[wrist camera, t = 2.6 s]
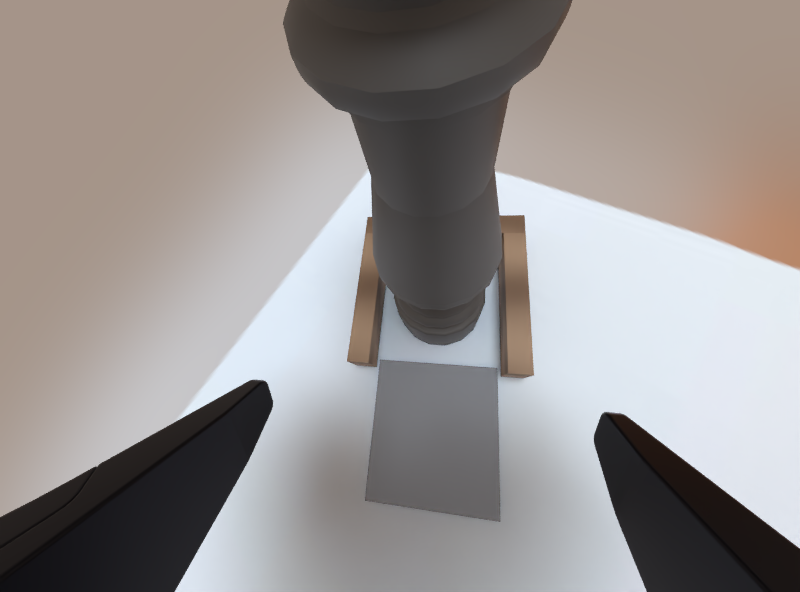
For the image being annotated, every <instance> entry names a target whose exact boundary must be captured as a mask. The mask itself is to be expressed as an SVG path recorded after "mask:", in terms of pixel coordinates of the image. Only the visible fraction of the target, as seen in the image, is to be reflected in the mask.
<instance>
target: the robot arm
mask: <svg viewBox="0 0 800 592" xmlns="http://www.w3.org/2000/svg"><path fill="white" fill-rule="evenodd" d="M272 407H273V400H272V396H271V393H270V390H269V387H268V384H267V382H266V381H263V380H250V381H248V382H246V383H245V384H243V385H241V386H239V387H237V388H236V389H234V390H232V391H230V392H228V393H227V394H225V395H223V396H221V397H219V398H218V399H216V400H214V401H212V402H210V403H209V404H207V405H205V406H203V407H201V408H200V409H198V410H196V411H194V412H192V413H191V414H189V415H187V416H185V417H183V418H182V419H180V420H178V421H176V422H174V423H173V424H171V425H169V426H167V427H166V428H164V429H162V430H160V431H158V432H157V433H155V434H153V435H151V436H149V437H148V438H146V439H144V440H142V441H140V442H138V443H137V444H135V445H133V446H131V447H130V448H128V449H126V450H124V451H122V452H121V453H119V454H117V455H115V456H113V457H111V458H110V459H108V460H106V461H104V462H102V463H101V464H99V465H98V467H93V468H92V469H90V470H88V471H86V472H84V473H83V474H81V475H79V476H77V477H76V478H74V479H72V480H70V481H68V482H66V483H65V484H63V485H61V486H59V487H57V488H55V489H54V490H52V491H50V492H48V493H46V494H44V495H42V496H40V497H39V498H37V499H35V500H33V501H31V502H29V503H27V504H25V505H23V506H21V507H20V508H17V509H15V510H13V511H11V512H9V513H7V514H5V515H4V516H2V517H0V592H175V590H176V588H177V587H178V585H179V583H180V581H181V579H182V578H183V576H184V574H185V572H186V571H187V569H188V567H189V565H190V564H191V562H192V560H193V558H194V556H195V555H196V553H197V551H198V549H199V548H200V546H201V544H202V542H203V541H204V539H205V537H206V535H207V533H208V532H209V530H210V528H211V526H212V525H213V523H214V521H215V519H216V518H217V516H218V514H219V512H220V510H221V509H222V507H223V505H224V503H225V502H226V500H227V498H228V496H229V495H230V493H231V491H232V489H233V487H234V486H235V484H236V482H237V480H238V479H239V477H240V475H241V473H242V472H243V470H244V468H245V466H246V464H247V462H248V460H249V458H250V456H251V454H252V452H253V450H254V448H255V446H256V443H257V441H258V439H259V437H260V435H261V432H262V430H263V428H264V426H265V424H266V421H267V419H268V417H269V415H270V412H271V410H272ZM594 444H595V448H596V451H597V454H598V458H599V461H600V464H601V468H602V471H603V475H604V478H605V481H606V485H607V488H608V491H609V495H610V498H611V501H612V505H613V508H614V511H615V514H616V516H617V519H618V522H619V524H620V527H621V529H622V532H623V534H624V537H625V539H626V542H627V544H628V546H629V549H630V551H631V554H632V556H633V559H634V561H635V564H636V566H637V569H638V571H639V574H640V576H641V578H642V581H643V583H644V586H645V588H646V591H647V592H800V548H798V547H797V546H796V545H794V544H793V543H792V542H790V541H789V540H788V539H787V538H785V537H784V536H783V535H781V534H780V533H779V532H777V531H776V530H775V529H773V528H772V527H771V526H770V525H768V524H767V523H766V522H764V521H763V520H762V519H760V518H759V517H758V516H756V515H755V514H754V513H753V512H751V511H750V510H749V509H747V508H746V507H745V506H743V505H742V504H741V503H739V502H738V501H737V500H736V499H734V498H733V497H732V496H730V495H729V494H728V493H726V492H725V491H724V490H722V489H721V488H720V487H719V486H717V485H716V484H715V483H713V482H712V481H711V480H709V479H708V478H707V477H705V476H704V475H703V474H702V473H700V472H699V471H698V470H696V469H695V468H694V467H692V466H691V465H690V464H689V463H687V462H686V461H685V460H683V459H682V458H681V457H679V456H678V455H677V454H675V453H674V452H673V451H672V450H670V449H669V448H668V447H666V446H665V445H664V444H662V443H661V442H660V441H658V440H657V439H656V438H655V437H653V436H652V435H651V434H649V433H648V432H647V431H645V430H644V429H643V428H641V427H640V426H639V425H638V424H636V423H635V422H634V421H632V420H631V419H630V418H628V417H627V416H626V415H624V414H621V413H611V412H604V413H603V414H602V415H601V417H600V420H599V423H598V426H597V428H596V431H595V434H594Z"/></svg>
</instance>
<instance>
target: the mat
mask: <svg viewBox="0 0 800 592" xmlns="http://www.w3.org/2000/svg"><path fill="white" fill-rule="evenodd" d="M365 501H372V502H378V503H384V504H391V505H397V506H403V507H410V508H416V509H423V510H429V511H435V512H442V513H448V514H454V515H461V516H467V517H474V518H480V519H486V520H493V521H499V522H500V483H499V433H498V382H497V368H487V367H473V366H459V365H445V364H431V363H418V362H404V361H390V360H380V367H379V376H378V386H377V395H376V404H375V413H374V423H373V432H372V441H371V450H370V460H369V469H368V478H367V487H366V497H365Z"/></svg>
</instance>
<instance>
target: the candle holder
mask: <svg viewBox="0 0 800 592" xmlns="http://www.w3.org/2000/svg"><path fill="white" fill-rule="evenodd" d="M571 3H572V0H290V1H289V4H288V7H287V10H286V13H285V17H284V21H283V25H284V29H285V33H286V37H287V41H288V46H289V50H290V53H291V56H292V59H293V61H294V63H295V65H296V67H297V69H298V71H299V73H300V75H301V76H302V78H303V79H304V80H305V82H306V83H307V84H308V85H309V86H311V87H312V88H313V89H314V90H315V91H316V92H317V93H318V94H320V95H321V96H322V97H323V98H324V99H325V100H326V101H328V102H329V103H330V104H331V105H332V106H333V107H335V108H336V109H339V110H342V111H346V112H349V113H350V114H351V117H352V120H353V123H354V126H355V129H356V132H357V135H358V138H359V141H360V144H361V147H362V150H363V153H364V156H365V159H366V162H367V165H368V168H369V171H370V174H371V188H372V227H373V256H374V260H375V263H376V267H377V270H378V273H379V276H380V278H381V280H382V281H383V282H384V283H385V285H386V286H387V287H388V288H389V289H390V290H391V291H392V293H393V294H394V299H395V303H396V306H397V309H398V312H399V315H400V317H401V319H402V320H403V322H404V324H405V326H406V327H407V328H408V329H409V330H410V332H411V333H412V334H413V335H414V336H415V337H416V338H418V339H420V340H422V341H424V342H426V343H428V344H436V345H448V344H451V343H454V342H457V341H460V340H462V339H463V338H464V337H465V336H466V335H468V334H469V333H470V332H471V331H472V330H473V329H474V327H475V324H476V322H477V320H478V318H479V316H480V314H481V311H482V308H483V306H484V303H485V288H486V287H487V286H489V285H490V282H491V280H492V278H493V276H494V274H495V272H496V270H497V268H498V266H499V264H500V261H501V259H502V233H501V224H500V216H499V207H498V198H497V188H496V179H495V169H494V166H495V161H496V156H497V151H498V147H499V142H500V137H501V132H502V127H503V123H504V117H505V113H506V108H507V103H508V98H509V94H510V90H511V88H512V87H513V85H514V84H516V83H517V82H518V81H519V80H521V79H522V78H524V77H525V76H526V75H528V74H529V73H530V72H531V71H533V70H534V69H535V68H537V67H538V66H539V65H540V63H541V62H542V60H543V58H544V56H545V55H546V53H547V51H548V49H549V47H550V45H551V43H552V42H553V40H554V38H555V36H556V34H557V32H558V30H559V29H560V27H561V25H562V23H563V21H564V20H565V18H566V16H567V13H568V11H569V8H570V6H571Z"/></svg>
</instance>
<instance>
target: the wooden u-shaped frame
mask: <svg viewBox="0 0 800 592" xmlns="http://www.w3.org/2000/svg"><path fill="white" fill-rule="evenodd" d="M500 224H501V233H502V259H501V261H500V264H499V266H498V267H499V309H500V351H501V376H503V377H516V378H526V377H529V376H533V375H534V370H533V353H532V336H531V319H530V302H529V285H528V269H527V252H526V235H525V218H524V215H518V216H500ZM385 286H386V285H385V283H384V282H383V281H382V280H381V278H380V276H379V273H378V270H377V267H376V263H375V260H374V256H373V227H372V217H368V220H367V226H366V233H365V240H364V247H363V254H362V261H361V268H360V275H359V282H358V289H357V296H356V303H355V310H354V317H353V323H352V330H351V337H350V344H349V351H348V358H347V361H348V362H350V363H353V364H355V365H360V366H373V367H377V358H378V349H379V340H380V331H381V322H382V313H383V304H384V295H385Z"/></svg>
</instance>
